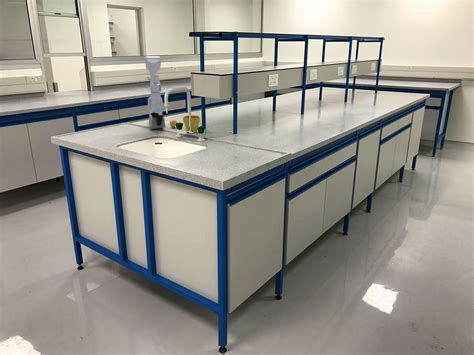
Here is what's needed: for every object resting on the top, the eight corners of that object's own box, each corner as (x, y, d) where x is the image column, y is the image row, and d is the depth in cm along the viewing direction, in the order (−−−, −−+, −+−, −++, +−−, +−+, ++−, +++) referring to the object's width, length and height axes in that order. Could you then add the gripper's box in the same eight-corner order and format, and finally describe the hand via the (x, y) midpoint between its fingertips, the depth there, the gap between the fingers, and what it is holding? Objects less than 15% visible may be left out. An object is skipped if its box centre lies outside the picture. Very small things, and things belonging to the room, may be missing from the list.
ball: (177, 121, 249) (173, 128, 249) (171, 117, 247) (167, 123, 247) (179, 123, 245) (175, 129, 245) (173, 118, 243) (169, 125, 242)
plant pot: (189, 134, 226) (188, 118, 223) (180, 131, 233) (179, 116, 230) (203, 132, 232) (203, 117, 229) (194, 129, 240) (194, 114, 236)
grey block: (149, 127, 242) (148, 117, 240) (162, 125, 246) (161, 116, 244) (152, 128, 237) (151, 119, 235) (165, 127, 241) (164, 118, 239)
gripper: (146, 102, 240) (148, 123, 245) (153, 105, 229) (155, 127, 233) (157, 101, 244) (158, 122, 248) (164, 104, 232) (166, 126, 236)
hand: (157, 124), depth 241 cm, fingers closed on grey block, 6 cm apart
